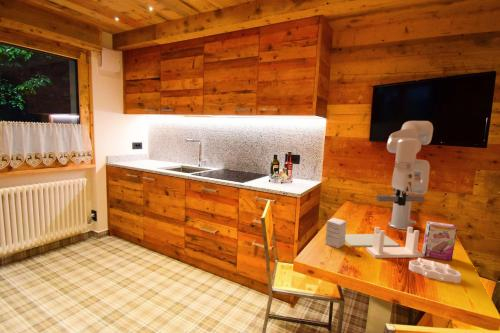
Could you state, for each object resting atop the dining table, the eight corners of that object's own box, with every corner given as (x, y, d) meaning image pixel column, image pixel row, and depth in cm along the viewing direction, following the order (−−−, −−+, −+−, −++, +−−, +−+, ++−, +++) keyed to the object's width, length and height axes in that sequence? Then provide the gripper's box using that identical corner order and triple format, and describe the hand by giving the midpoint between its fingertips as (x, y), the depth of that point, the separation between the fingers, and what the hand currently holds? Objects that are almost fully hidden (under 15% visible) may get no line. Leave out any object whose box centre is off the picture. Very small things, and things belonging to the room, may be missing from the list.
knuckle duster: (457, 272, 116) (462, 289, 103) (409, 260, 125) (408, 274, 113) (458, 265, 115) (463, 281, 103) (409, 253, 124) (409, 267, 112)
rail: (420, 200, 129) (420, 195, 129) (423, 201, 127) (424, 196, 126) (376, 200, 127) (376, 195, 127) (379, 201, 125) (379, 196, 124)
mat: (383, 235, 153) (383, 234, 153) (399, 246, 139) (399, 244, 139) (339, 235, 151) (339, 234, 150) (350, 246, 137) (350, 245, 137)
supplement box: (331, 240, 144) (333, 217, 142) (345, 244, 139) (347, 221, 137) (324, 243, 139) (326, 220, 137) (338, 248, 134) (340, 224, 132)
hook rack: (411, 249, 136) (414, 225, 134) (423, 257, 128) (426, 232, 126) (365, 250, 133) (368, 225, 132) (374, 257, 126) (377, 232, 124)
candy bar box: (424, 257, 128) (429, 224, 125) (421, 252, 132) (426, 220, 130) (452, 261, 124) (457, 227, 122) (448, 257, 129) (453, 224, 127)
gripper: (424, 168, 117) (419, 209, 120) (400, 163, 133) (396, 199, 135) (407, 168, 116) (403, 209, 119) (386, 163, 132) (382, 199, 135)
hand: (399, 204), depth 127 cm, fingers closed on rail, 2 cm apart
